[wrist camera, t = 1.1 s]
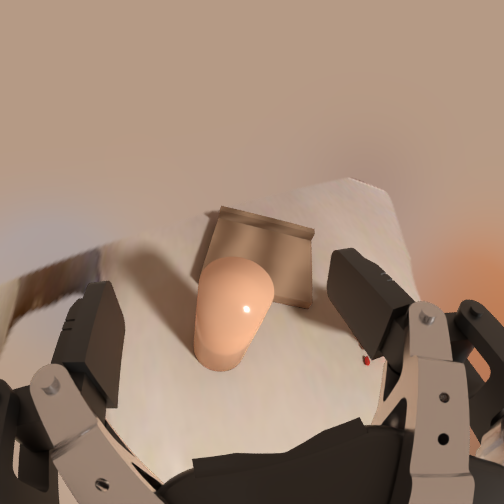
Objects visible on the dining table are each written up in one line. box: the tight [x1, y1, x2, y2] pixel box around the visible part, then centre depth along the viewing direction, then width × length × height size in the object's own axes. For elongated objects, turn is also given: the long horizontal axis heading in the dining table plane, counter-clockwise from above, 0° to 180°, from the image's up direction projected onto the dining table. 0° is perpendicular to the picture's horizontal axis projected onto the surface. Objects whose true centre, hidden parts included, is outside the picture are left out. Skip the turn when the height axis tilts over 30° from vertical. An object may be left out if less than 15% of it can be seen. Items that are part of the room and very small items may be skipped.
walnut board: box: [199, 206, 315, 309], centre depth 37 cm, size 14×12×3 cm
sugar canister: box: [194, 257, 274, 372], centre depth 24 cm, size 6×6×12 cm
